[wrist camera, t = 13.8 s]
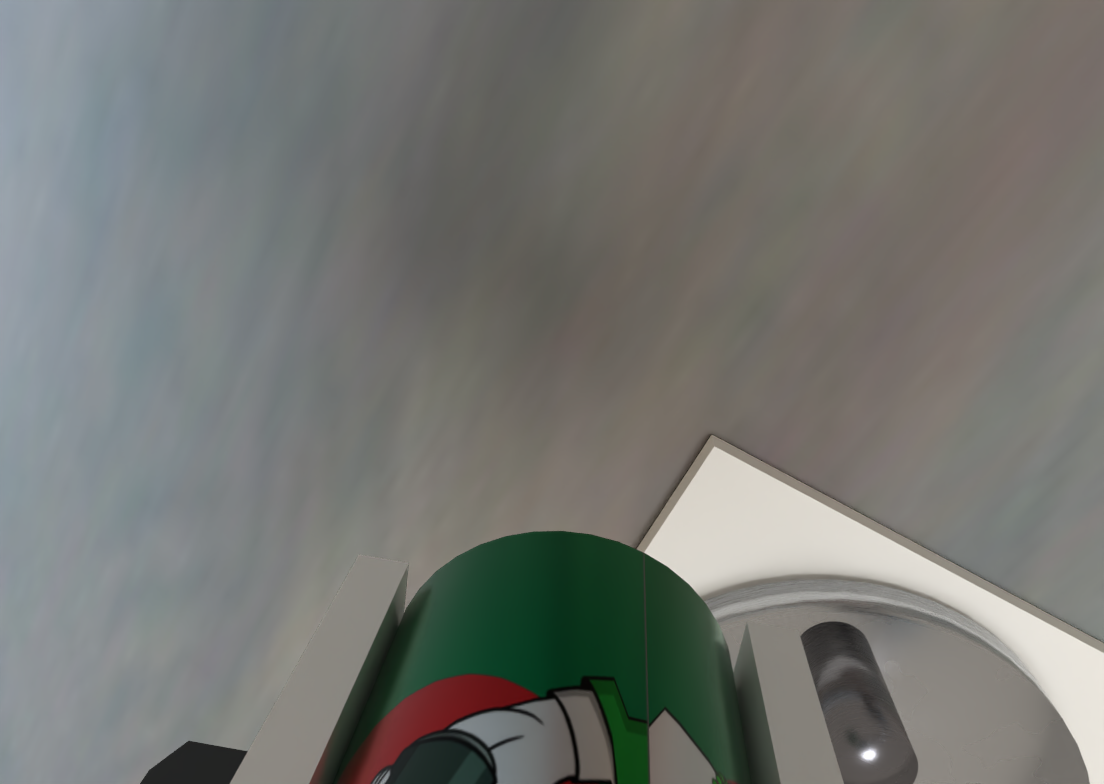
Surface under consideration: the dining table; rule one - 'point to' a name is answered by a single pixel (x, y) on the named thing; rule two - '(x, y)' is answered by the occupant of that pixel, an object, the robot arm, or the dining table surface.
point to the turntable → (912, 686)
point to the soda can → (552, 675)
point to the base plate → (859, 571)
